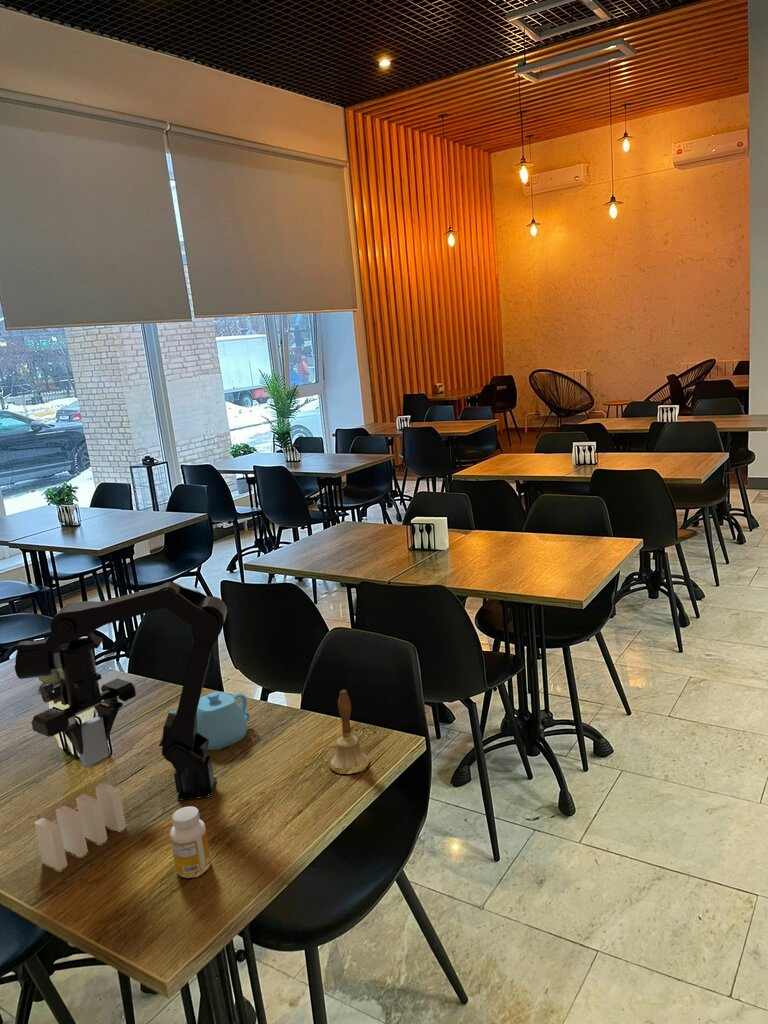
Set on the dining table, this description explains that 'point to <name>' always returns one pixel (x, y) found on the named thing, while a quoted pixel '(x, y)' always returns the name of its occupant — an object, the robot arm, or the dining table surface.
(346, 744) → the hand bell
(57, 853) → the domino
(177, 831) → the supplement bottle
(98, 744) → the domino
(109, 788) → the domino
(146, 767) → the dining table surface
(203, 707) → the teapot
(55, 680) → the vessel
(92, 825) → the domino
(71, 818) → the domino
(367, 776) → the dining table surface
